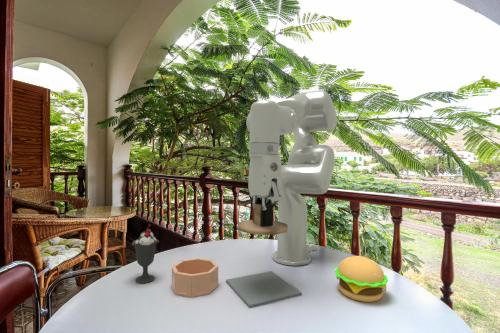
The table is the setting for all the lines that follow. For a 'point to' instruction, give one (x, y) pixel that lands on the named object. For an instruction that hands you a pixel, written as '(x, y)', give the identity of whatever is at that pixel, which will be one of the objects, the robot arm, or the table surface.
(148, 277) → the sundae
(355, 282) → the hamburger
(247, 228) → the lid
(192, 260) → the bowl
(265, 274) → the mat
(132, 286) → the table surface
